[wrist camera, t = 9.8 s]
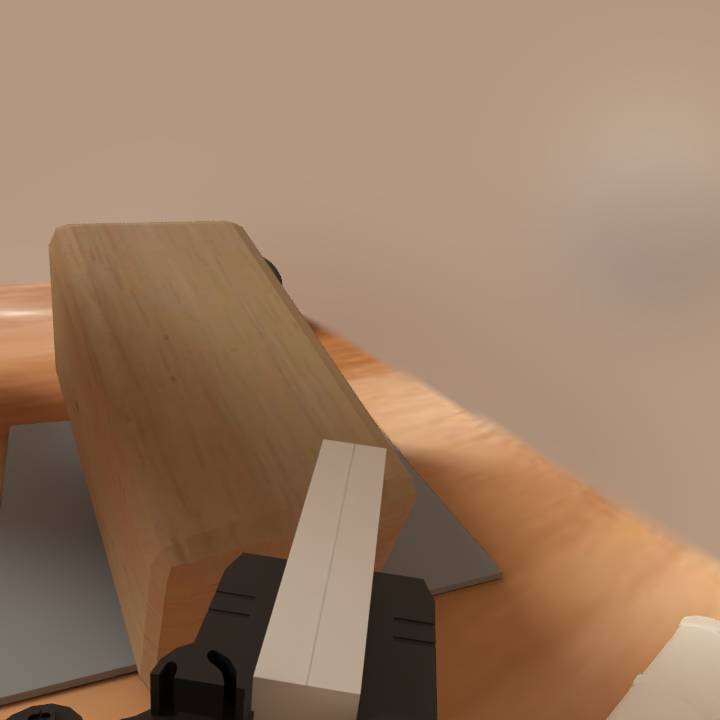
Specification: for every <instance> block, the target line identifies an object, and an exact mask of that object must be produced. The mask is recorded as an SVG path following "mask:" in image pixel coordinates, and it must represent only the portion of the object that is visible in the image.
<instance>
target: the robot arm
mask: <svg viewBox="0 0 720 720" xmlns="http://www.w3.org/2000/svg"><path fill="white" fill-rule="evenodd" d="M386 450H387V449H386V448H380V447H373V446H366V445H359V444H353V443H346V442H339V441H332V440H326V439H323V442H322V446H321V449H320V452H319V456H318V459H317V463H316V466H315V469H314V473H313V476H312V479H311V483H310V486H309V490H308V493H307V496H306V500H305V503H304V507H303V510H302V513H301V517H300V520H299V523H298V527H297V530H296V534H295V537H294V540H293V544H292V547H291V550H290V554H289V557H288V559H282V558H276V557H269V556H263V555H256V554H250V553H244V552H243V553H242V554H241V555H240V556H239V557H238V558H237V559H236V560H234V561H233V562H232V563H231V564H230V565H229V566H228V567H227V568H226V569H225V570H224V573H223V575H222V578H221V580H220V582H219V585H218V587H217V589H216V593H215V595H214V596H213V599H212V601H211V603H210V606H209V608H208V613H206V615H205V618H204V620H203V622H202V625H201V627H200V629H199V632H198V634H197V637H196V639H195V641H194V643H191V644H188V645H184V646H181V647H178V648H176V649H174V650H173V651H171V652H170V653H168V654H167V655H165V656H164V657H163V658H161V659H160V660H159V662H158V663H157V665H156V666H155V667H154V669H153V670H152V671H151V673H150V692H151V709H150V710H147V711H145V712H143V713H141V714H139V715H137V716H133V717H129V718H125V719H121V720H437V689H436V648H435V643H436V641H435V600H434V598H433V596H432V595H431V593H430V591H429V589H428V587H427V585H426V583H425V581H424V579H420V578H414V577H408V576H401V575H395V574H388V573H382V572H376V571H374V562H375V553H376V544H377V534H378V525H379V516H380V506H381V497H382V488H383V478H384V469H385V460H386ZM6 720H83V719H82V717H81V716H80V715H79V714H77V713H76V712H75V711H74V710H72V709H71V708H70V707H66V706H61V705H57V704H45V705H38V706H32V707H29V708H27V709H25V710H23V711H20V712H18V713H16V714H13V715H11V716H10V717H9V718H8V719H6Z"/></svg>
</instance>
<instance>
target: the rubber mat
mask: <svg viewBox="0 0 720 720" xmlns="http://www.w3.org/2000/svg"><path fill="white" fill-rule="evenodd" d="M380 431H381V430H380ZM381 432H382V431H381ZM382 433H383V432H382ZM383 435H384V433H383ZM384 436H385V435H384ZM385 438H386V439H387V441H388V442H389V444H390V445H391V447H392V448H393V450H394V451H395V453H396V454H397V456H398V457H399V459H400V460H401V461H402V463H403V464H404V466H405V467H406V469H407V470H408V472H409V473H410V475H411V476H412V479H413V482H414V486H415V489H416V504H415V506H414V508H413V510H412V512H411V514H410V516H409V518H408V519H407V521H406V523H405V525H404V527H403V529H402V531H401V533H400V535H399V537H398V539H397V541H396V543H395V545H394V547H393V549H392V550H391V552H390V554H389V556H388V558H387V560H386V562H385V564H384V566H383V568H382V570H381V572H382V573H388V574H395V575H401V576H408V577H414V578H420V579H424V581H425V583H426V585H427V587H428V589H429V591H430V593H431V595H436V594H440V593H444V592H448V591H451V590H455V589H459V588H463V587H467V586H471V585H475V584H479V583H483V582H487V581H491V580H495V579H499V578H501V577H502V573H503V572H502V571H501V569H500V568H499V567H498V566H497V565H496V564H495V562H494V561H493V560H492V559H491V558H490V557H489V555H488V554H487V553H486V552H485V551H484V550H483V548H482V547H481V546H480V545H479V544H478V543H477V542H476V540H475V539H474V538H473V537H472V536H471V535H470V533H469V532H468V531H467V530H466V529H465V528H464V526H463V525H462V524H461V523H460V522H459V521H458V519H457V518H456V517H455V516H454V515H453V514H452V512H451V511H450V510H449V509H448V508H447V507H446V505H445V504H444V503H443V502H442V501H441V500H440V499H439V497H438V496H437V495H436V494H435V493H434V492H433V490H432V489H431V488H430V487H429V486H428V485H427V483H426V482H425V481H424V480H423V479H422V478H421V476H420V475H419V474H418V473H417V472H416V471H415V469H414V468H413V467H412V466H411V465H410V464H409V462H408V461H407V460H406V459H405V458H404V457H403V455H402V454H401V453H400V452H399V451H398V450H397V449H396V447H395V446H394V445H393V444H392V443H391V442H390V440H389V439H388V438H387V437H386V436H385ZM134 671H138V669H137V666H136V662H135V658H134V655H133V651H132V647H131V644H130V640H129V636H128V633H127V629H126V625H125V622H124V618H123V614H122V610H121V607H120V603H119V599H118V596H117V592H116V588H115V585H114V581H113V577H112V574H111V570H110V566H109V563H108V559H107V555H106V552H105V548H104V544H103V541H102V537H101V533H100V530H99V526H98V522H97V518H96V515H95V511H94V507H93V504H92V500H91V496H90V493H89V489H88V485H87V482H86V478H85V474H84V471H83V467H82V463H81V460H80V456H79V452H78V449H77V445H76V441H75V438H74V434H73V430H72V426H71V423H70V420H64V421H54V422H43V423H33V424H22V425H11V426H10V428H9V437H8V446H7V454H6V463H5V471H4V480H3V488H2V497H1V505H0V706H1V705H5V704H8V703H12V702H16V701H20V700H24V699H28V698H32V697H36V696H40V695H44V694H48V693H52V692H55V691H59V690H63V689H67V688H71V687H75V686H79V685H83V684H87V683H91V682H95V681H99V680H103V679H106V678H110V677H114V676H118V675H122V674H126V673H130V672H134Z"/></svg>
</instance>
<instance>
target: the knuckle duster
mask: <svg viewBox="0 0 720 720" xmlns="http://www.w3.org/2000/svg"><path fill="white" fill-rule="evenodd" d="M606 720H720V621H719V620H716V619H713V618H709V617H704V616H697V615H695V616H690V617H688V616H685V617H684V618H683V619H682V621H681V623H680V625H679V627H678V630H677V631H676V632H675V633H674V635H673V636H672V637H671V638H670V640H669V641H668V642H667V643H666V645H665V646H664V647H663V648H662V650H661V651H660V652H659V653H658V655H657V656H656V657H655V658H654V660H653V661H652V662H651V663H650V665H649V666H648V667H647V668H646V670H645V671H644V672H643V673H642V674H638V675H637V677H636V678H635V679H634V681H633V683H632V685H631V688H630V690H629V691H628V692H627V694H626V695H625V696H624V697H623V699H622V700H621V701H620V702H619V704H618V705H617V706H616V707H615V709H614V710H613V711H612V712H611V714H610V715H609V716H608V717H607V719H606Z"/></svg>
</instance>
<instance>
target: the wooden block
mask: <svg viewBox="0 0 720 720" xmlns="http://www.w3.org/2000/svg"><path fill="white" fill-rule="evenodd" d="M49 258H50V275H51V293H52V310H53V327H54V345H55V362H56V371H57V375H58V379H59V382H60V386H61V390H62V393H63V397H64V401H65V404H66V408H67V412H68V415H69V419H70V423H71V426H72V430H73V434H74V438H75V441H76V445H77V449H78V452H79V456H80V460H81V463H82V467H83V471H84V474H85V478H86V482H87V485H88V489H89V493H90V496H91V500H92V504H93V507H94V511H95V515H96V518H97V522H98V526H99V530H100V533H101V537H102V541H103V544H104V548H105V552H106V555H107V559H108V563H109V566H110V570H111V574H112V577H113V581H114V585H115V588H116V592H117V596H118V599H119V603H120V607H121V610H122V614H123V618H124V622H125V625H126V629H127V633H128V636H129V640H130V644H131V647H132V651H133V655H134V658H135V662H136V666H137V669H138V673H139V677H140V679H141V680H142V681H143V682H144V684H145V685H146V686H147V687H148V688H149V689H150V673H151V671H152V670H153V669H154V667H155V666H156V665H157V663H158V662H159V660H160V659H161V658H163V657H164V656H165V655H167V654H168V653H170V652H171V651H173V650H174V649H176V648H178V647H181V646H184V645H188V644H191V643H194V641H195V639H196V637H197V634H198V632H199V629H200V627H201V625H202V622H203V620H204V618H205V615H206V613H208V608H209V606H210V603H211V601H212V599H213V596H214V595H215V593H216V589H217V587H218V585H219V582H220V580H221V578H222V575H223V573H224V570H225V569H226V568H227V567H228V566H229V565H230V564H231V563H232V562H233V561H234V560H236V559H237V558H238V557H239V556H240V555H241V554H242V553H243V552H244V553H250V554H256V555H263V556H269V557H276V558H282V559H288V557H289V554H290V550H291V547H292V544H293V540H294V537H295V534H296V530H297V527H298V523H299V520H300V517H301V513H302V510H303V507H304V503H305V500H306V496H307V493H308V490H309V486H310V483H311V479H312V476H313V473H314V469H315V466H316V463H317V459H318V456H319V452H320V449H321V446H322V442H323V439H326V440H332V441H339V442H346V443H353V444H359V445H366V446H373V447H380V448H386V449H387V450H386V460H385V469H384V478H383V488H382V497H381V506H380V516H379V525H378V534H377V544H376V553H375V562H374V571H376V572H381V570H382V568H383V566H384V564H385V562H386V560H387V558H388V556H389V554H390V552H391V550H392V549H393V547H394V545H395V543H396V541H397V539H398V537H399V535H400V533H401V531H402V529H403V527H404V525H405V523H406V521H407V519H408V518H409V516H410V514H411V512H412V510H413V508H414V506H415V504H416V489H415V486H414V482H413V479H412V476H411V475H410V473H409V472H408V470H407V469H406V467H405V466H404V464H403V463H402V461H401V460H400V459H399V457H398V456H397V454H396V453H395V451H394V450H393V448H392V447H391V445H390V444H389V442H388V441H387V439H386V438H385V436H384V435H383V433H382V432H381V431H380V429H379V428H378V426H377V425H376V423H375V422H374V420H373V419H372V417H371V416H370V414H369V413H368V411H367V410H366V408H365V407H364V405H363V404H362V403H361V401H360V400H359V398H358V397H357V395H356V394H355V392H354V391H353V389H352V388H351V386H350V385H349V383H348V382H347V380H346V379H345V377H344V376H343V375H342V373H341V372H340V370H339V369H338V367H337V366H336V364H335V363H334V361H333V360H332V358H331V357H330V355H329V354H328V352H327V351H326V350H325V348H324V347H323V345H322V344H321V342H320V341H319V339H318V338H317V336H316V335H315V333H314V332H313V330H312V329H311V327H310V326H309V324H308V323H307V322H306V320H305V319H304V317H303V316H302V314H301V313H300V311H299V310H298V308H297V307H296V305H295V304H294V302H293V301H292V299H291V298H290V296H289V295H288V294H287V292H286V291H285V289H284V288H283V286H282V285H281V283H280V282H279V280H278V279H277V277H276V276H275V274H274V273H273V271H272V270H271V268H270V267H269V266H268V264H267V263H266V261H265V260H264V258H263V257H262V255H261V254H260V252H259V251H258V249H257V248H256V246H255V245H254V243H253V242H252V241H251V239H250V238H249V236H248V235H247V233H246V232H245V230H244V229H243V227H241V226H239V225H237V224H235V223H232V222H228V221H197V222H149V223H103V224H68V225H65V226H61V227H58V228H56V229H55V232H54V236H53V238H52V240H51V242H50V244H49Z"/></svg>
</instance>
